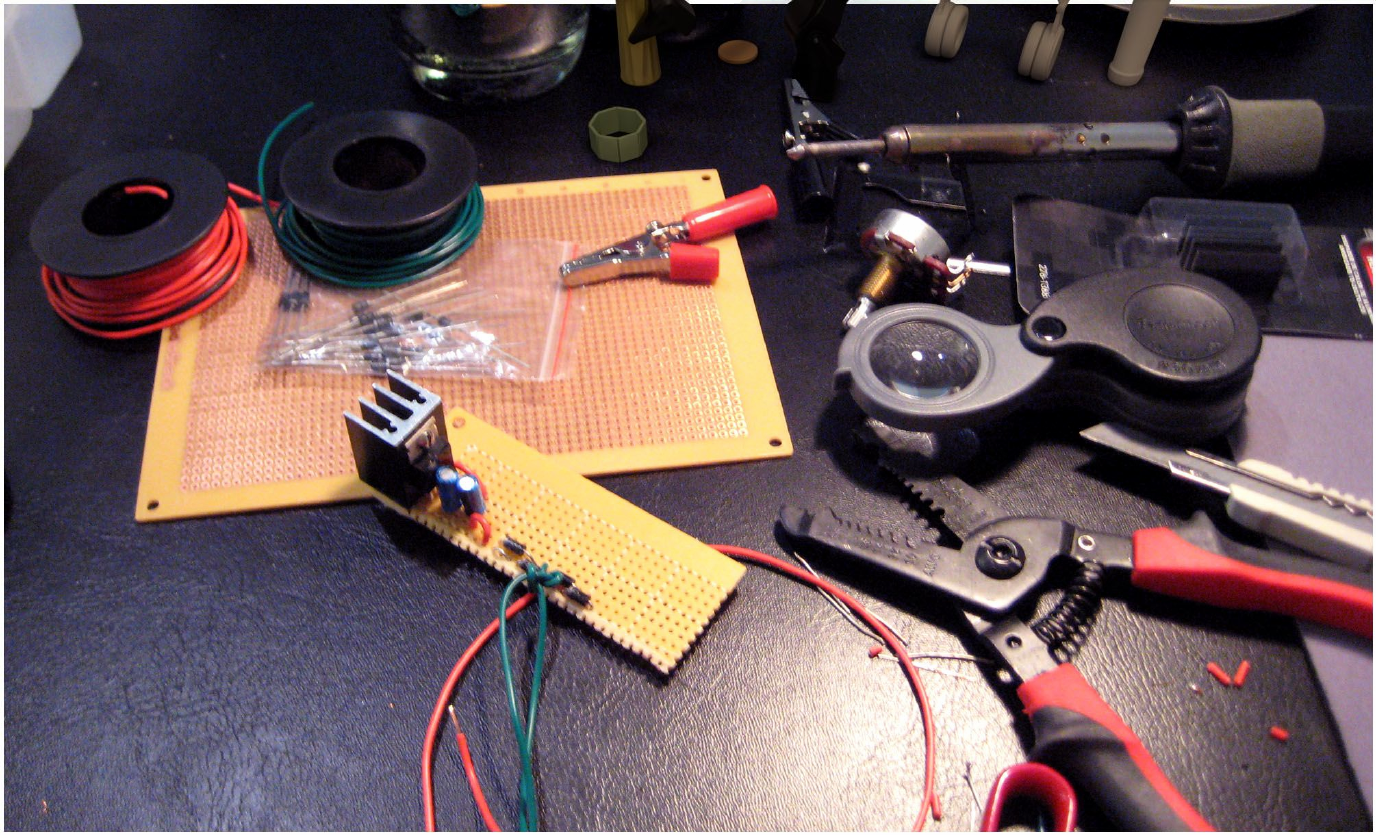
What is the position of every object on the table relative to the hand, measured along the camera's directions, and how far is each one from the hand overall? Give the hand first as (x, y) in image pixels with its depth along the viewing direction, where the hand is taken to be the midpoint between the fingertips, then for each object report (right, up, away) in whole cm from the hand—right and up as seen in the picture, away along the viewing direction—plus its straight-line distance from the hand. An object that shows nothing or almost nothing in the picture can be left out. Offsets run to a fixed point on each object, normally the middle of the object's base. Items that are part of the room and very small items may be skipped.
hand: (627, 32), depth 134 cm
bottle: (+78, -2, +13) cm, 79 cm away
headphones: (+58, +2, +17) cm, 60 cm away
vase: (+2, -4, +6) cm, 7 cm away
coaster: (+17, +5, +21) cm, 28 cm away
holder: (-2, -15, +5) cm, 16 cm away
